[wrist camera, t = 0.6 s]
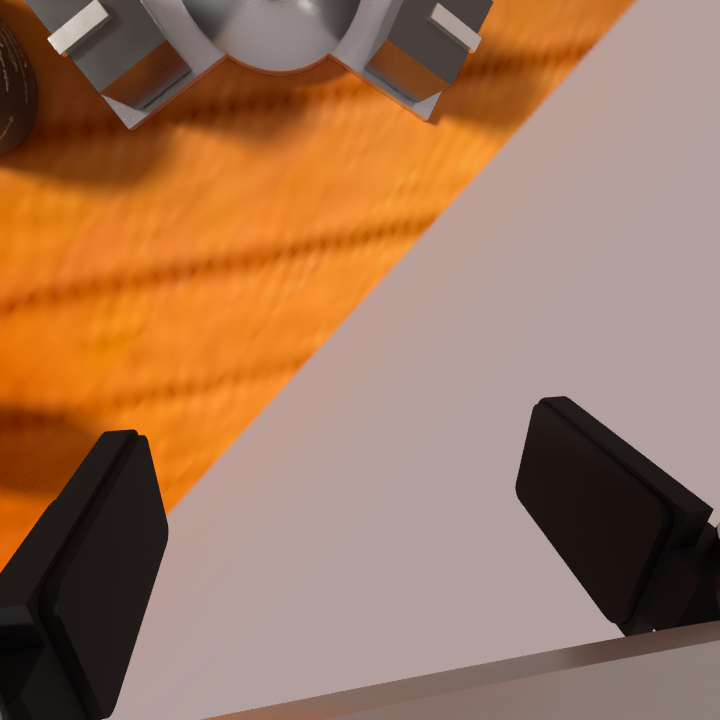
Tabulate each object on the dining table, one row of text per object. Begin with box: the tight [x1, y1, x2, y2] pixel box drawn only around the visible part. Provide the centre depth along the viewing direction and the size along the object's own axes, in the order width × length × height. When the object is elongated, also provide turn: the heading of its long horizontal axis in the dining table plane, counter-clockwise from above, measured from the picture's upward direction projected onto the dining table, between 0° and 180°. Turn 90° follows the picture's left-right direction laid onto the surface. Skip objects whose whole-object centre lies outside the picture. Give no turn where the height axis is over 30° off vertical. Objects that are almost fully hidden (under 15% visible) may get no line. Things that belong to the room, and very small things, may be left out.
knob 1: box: [24, 0, 191, 111], centre depth 22 cm, size 5×4×7 cm
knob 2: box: [364, 0, 493, 103], centre depth 24 cm, size 5×4×7 cm
